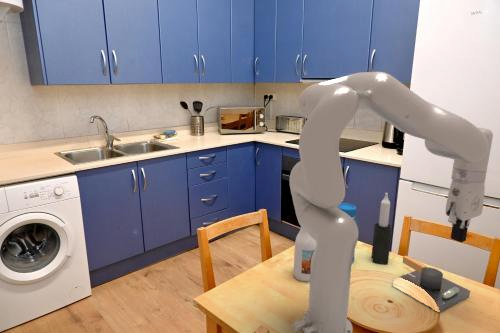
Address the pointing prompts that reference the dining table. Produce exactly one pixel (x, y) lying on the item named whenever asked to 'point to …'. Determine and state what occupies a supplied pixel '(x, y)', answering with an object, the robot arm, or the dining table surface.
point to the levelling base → (441, 291)
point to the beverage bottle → (351, 212)
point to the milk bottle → (303, 255)
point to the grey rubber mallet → (425, 274)
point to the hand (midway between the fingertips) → (457, 239)
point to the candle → (382, 235)
